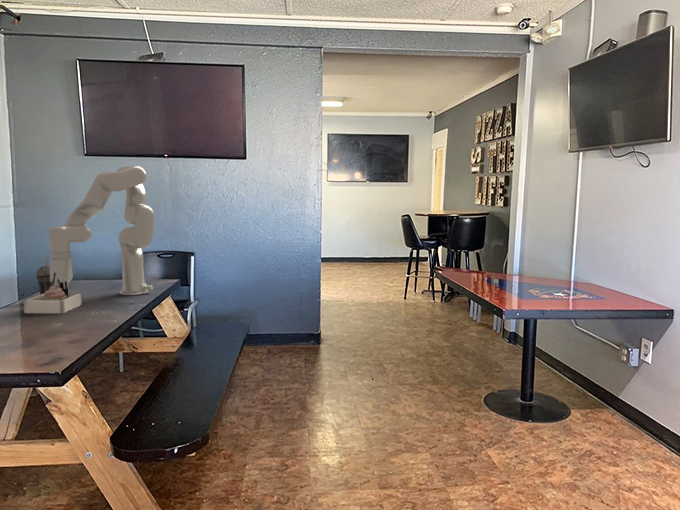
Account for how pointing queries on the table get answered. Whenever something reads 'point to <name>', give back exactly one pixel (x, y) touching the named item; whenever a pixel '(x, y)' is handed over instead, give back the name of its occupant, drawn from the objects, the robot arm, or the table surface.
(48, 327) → the table surface
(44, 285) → the beverage cup
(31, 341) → the table surface
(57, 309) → the box
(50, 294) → the cupcake
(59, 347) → the table surface
